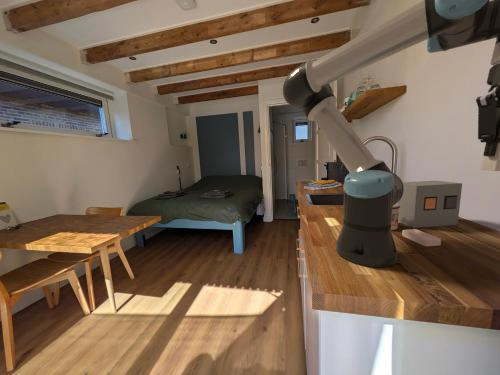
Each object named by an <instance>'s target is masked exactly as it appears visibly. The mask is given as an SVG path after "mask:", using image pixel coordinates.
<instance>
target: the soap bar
mask: <svg viewBox="0 0 500 375" xmlns="http://www.w3.org/2000/svg"><path fill="white" fill-rule="evenodd" d="M401 231H402V233H401V234H402V235H401V236H403V238H407V239H409V240H410V241H413V242H415V243H417V244H419V245H421V246H424V247H434V246H435V247H436V246H441V245H442V239H441V238H440V237H438V236H434V235H432V234H429V233H427V232H424V231H422V230H419V229H417V228H413V229H403V230H401Z"/></svg>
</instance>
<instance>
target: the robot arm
mask: <svg viewBox="0 0 500 375" xmlns="http://www.w3.org/2000/svg"><path fill="white" fill-rule="evenodd" d="M491 39H492V40H493V39H495V40H496V41H495V43H494V48H493V51H492V52H493V53H492V55H491V56H492V57H491V60H490V65H491V67H490V68H489V70H488V76H487V80H486V85H488V86H490V87H489V89H488V90H487V93H486V94H484V95H480V96H477V98H476V99H475V103H476V106H477V108H478V110H477V111H478V113H477V117H478V119H477V122H478V123H477V139H478V140H480V141H479V142H480V143H485V146H484V150H483V158H482V161H481V167H480V170H481V171H489V172H490V171H491V172H500V0H421V1H419V2H418V3H416V4H414V5H413V6H411V7H409V8H407V9H406V10H405V9H404V10H403V11H402V12H400V13H398V14H396V15H395V16H393V17H391V18H389V19H387V20H386V21H384V22H381V24H379V25H377V26H375V27H373V28H371V29H370V30H368V31H366V32H364V33H363V34H360V35H359V36H357V37H355V38H353V39H351V40H349V41H348V42H346V43H345V44H343V45H341V46H339V47H337V48H336V49H334V50H332V51H330V52H328V53H327V54H325V55H323V56H321V57H319V58H317V59H316V60H313V59H312V58H311V59H308V60H306V61H304V62H303V63H301V64H300V65H298V66H297V67H295V68H294V69H292V70H291V71H290V72H289V73H288V74H287V76H286V77H285V80H284V82H283V85H282V96H283V98H284V101H285V102H286V103H287V104H288V105H289V106H291V107H293V108H296V109H298V110H301V111H302V112H303V114H304V116H305V117H306V118H307V119H308V121H310V122H315V124H316V126H317V127H318V128H319V130H320V131H321V132H322V134H323V136H324V137H325V138H326V140H327V141H328V143H329V144H330V146H331V148H332V149H333V151H335V153H336V155H337V156H338V158H339V159H340V160H341V162H342V164H343V165H344V166H345V168H346V169H347V171H348V173H347V175H346V176H345V177H344V183H343V186H342V188H343V206H342V207H343V209H342V210H343V212H342V213H343V214H342V216H343V218H342V227H341V230H340V232H339V234H338V236H337V237H338V238H337V239H336V243H335V251H336V253H337V254H338V255H339V256H340V257H341V258H343V259H345V260H347V261H349V262H351V263H354V264H355V265H356V264H357V265H360V266H365V267H372V268H385V267H391V266H393V265H395V264H397V262H398V249H397V247H396V244H395V243H396V242H395V240H394V236H393V234H392V230H391V220H392V207H393V206H394V205H395V204H396V203H397V202H399V201H400V199H401V198H402V196H403V192H404V186H403V182H404V181H403V180H402V178H400V176H398V175H397V174H396V173H394V172H393V171H392V170H391V169H390V168H389V166H388V165H387V164H386V162H385V161H384V160H380V159H376V158H375V157H374V155H373V154H372V153H371V151H370V150H369V149H368V148H367V145H366V144H365V143H364V142H363V141H362V139H361V138H360V137H359V134H357V133H356V131H355V130H354V129H353V127H352V126H351V124H350V123H349V121H348V120H347V119H346V117H345V116H344V115H343V114H342V112H341V111H340V110H339V108H338V107H337V101H338V99H337V97H336V96H335V95H334V91H333V88H332V86H331V85H330V84H331V83H333V82H335V81H338V80H340V79H343V78H344V77H346V76H348V75H351V74H354V73H356V72H358V71H360V70H362V69H364V68H367V67H369V66H371V65H374V64H375V63H376V64H377V62H380V61H382V60H384V59H387V58H389V57H392V56H393V55H395V54H397V53H400V52H401V51H405V50H406V49H409V48H411V47H413V46H416V45H417V44H420V43H422V42H424V41H426V40H427V41H426V49H427V52H428V53H430V54H434V53H439V52H446V51H449V50H452V49H453V50H454V49H456V48H457V49H458V48H461V47H464V46H465V47H466V46H468V45H472V44H473V45H474V44H477V43H480V42H485V41H489V40H491Z"/></svg>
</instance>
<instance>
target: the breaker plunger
mask: <svg viewBox="0 0 500 375" xmlns="http://www.w3.org/2000/svg"><path fill="white" fill-rule="evenodd" d="M435 202H436V198H433V197H424V209H435Z"/></svg>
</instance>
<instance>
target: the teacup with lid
mask: <svg viewBox="0 0 500 375" xmlns="http://www.w3.org/2000/svg"><path fill="white" fill-rule="evenodd" d="M399 208H400V205H399V204H397V203H396V204H395V205H394V206H393V207H392V220H391V231H395V230H397V229H399V222H398V217H399Z"/></svg>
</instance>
